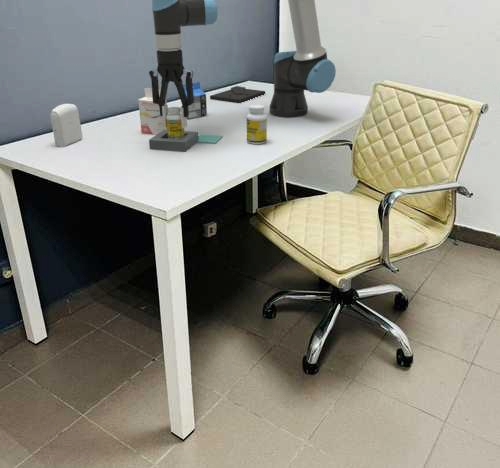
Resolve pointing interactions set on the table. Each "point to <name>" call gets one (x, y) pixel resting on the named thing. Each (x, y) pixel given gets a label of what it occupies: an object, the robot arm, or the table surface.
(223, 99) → the black ridged flat slab
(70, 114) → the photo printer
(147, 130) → the ink cartridge box
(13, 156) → the table surface
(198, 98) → the label tape cartridge
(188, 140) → the socket frame
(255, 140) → the pill bottle
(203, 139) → the coaster
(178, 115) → the supplement bottle
